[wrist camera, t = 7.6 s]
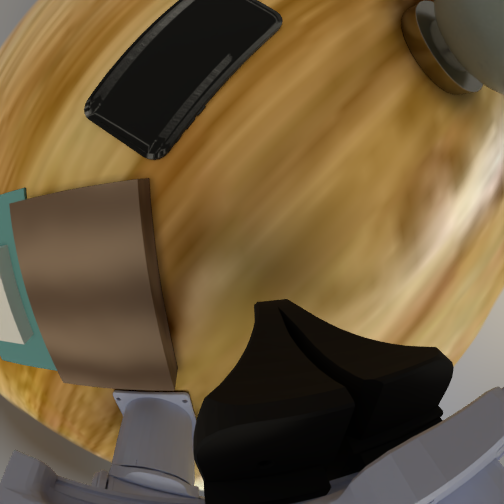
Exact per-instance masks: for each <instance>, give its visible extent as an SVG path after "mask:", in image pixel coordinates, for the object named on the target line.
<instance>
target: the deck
mask: <svg viewBox="0 0 504 504" xmlns="http://www.w3.org/2000/svg"><path fill="white" fill-rule="evenodd" d="M9 207H10V216H11V223H12V230H13V236H14V241H15V247H16V252H17V256H18V261H19V265H20V270H21V274H22V277H23V281H24V285H25V288H26V292H27V295H28V298H29V302H30V305H31V308H32V311H33V314H34V316H35V319H36V322H37V325H38V327H39V330H40V333H41V335H42V338H43V340H44V342H45V345H46V347H47V350H48V352H49V354H50V356H51V358H52V361H53V363H54V365H55V367H56V369H57V371H58V373H59V375H60V377H61V379H62V381H63V383H69V384H76V385H83V386H92V387H101V388H113V389H128V390H154V391H175V384H176V376H177V369H178V367H177V363H176V359H175V355H174V350H173V346H172V341H171V337H170V332H169V327H168V322H167V317H166V312H165V306H164V301H163V295H162V289H161V283H160V276H159V270H158V263H157V256H156V248H155V240H154V231H153V221H152V211H151V199H150V184H149V178H145V179H135V180H127V181H120V182H113V183H106V184H100V185H94V186H88V187H82V188H77V189H72V190H66V191H61V192H57V193H52V194H47V195H43V196H38V197H34V198H30V199H26V200H22V201H18V202H14V203H10V204H9Z"/></svg>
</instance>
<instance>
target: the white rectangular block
mask: <svg viewBox="0 0 504 504" xmlns="http://www.w3.org/2000/svg"><path fill="white" fill-rule="evenodd" d="M32 335H33V331H32V329H31V326H30V323H29V321H28V318H27V315H26V312H25V309H24V306H23V303H22V300H21V297H20V294H19V290H18V287H17V283H16V280H15V276H14V272H13V268H12V264H11V259H10V255H9V250H8V245H4V246H0V341H6V342H12V343H18V344H25V343H26V342H27V341H28V340H29V339H30V337H31V336H32Z"/></svg>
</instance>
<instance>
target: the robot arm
mask: <svg viewBox="0 0 504 504" xmlns="http://www.w3.org/2000/svg"><path fill="white" fill-rule="evenodd" d="M254 312H255V323H254V328H253V331H252V334H251V337H250V340H249V342H248V345H247V347H246V349H245V351H244V353H243V355H242V356H241V358H240V360H239V361H238V363H237V364H236V366H235V367H234V369H233V370H232V371H231V372H230V373H229V375H228V376H227V377H226V378H225V379H224V381H223V382H222V383H221V384H220V385H219V386H218V387H217V388H215V389H214V390H213V391H212V392H211V393H210V394H209V395H208V396H207V397H205V398H204V401H203V403H202V406H201V409H200V411H199V414H198V418H197V421H196V417H195V414H194V410H193V407H192V403H191V400H190V396H189V394H188V393H186V392H136V391H119V390H115V391H114V392H113V396H114V398H115V401H116V403H117V405H118V407H119V408H120V410H121V412H122V414H123V419H122V423H121V427H120V431H119V435H118V439H117V443H116V447H115V452H114V456H113V460H112V465H111V468H110V471H109V473H108V472H107V471H105V470H100V472H99V471H98V472H96V473H94V476H93V480H92V485H87V484H83V483H80V482H76V481H73V480H70V479H67V478H64V477H61V476H58V475H56V473H55V472H54V471H53V470H52V469H51V468H50V467H49V466H48V465H46V464H45V463H44V462H42V461H40V460H38V459H36V458H34V457H31V456H29V455H26V454H24V453H22V452H20V451H17V450H14V451H13V453H12V456H11V458H10V460H9V463H8V465H7V467H6V470H5V472H4V475H3V477H2V480H1V483H0V504H504V467H503V466H502V465H501V463H500V462H499V461H498V460H499V459H500V458H501V457H502V456H503V455H504V387H503V388H502V389H501V388H500V387H495V388H493V389H491V390H489V391H487V392H485V393H484V394H482V395H481V396H480V397H478V398H477V399H475V400H474V401H473V402H471V403H470V404H468V405H467V406H465V407H464V408H462V409H461V410H459V411H458V412H456V413H455V414H453V415H452V416H450V417H448V418H447V419H445V420H442V419H441V418H440V417H441V416H442V415H443V411H442V409H441V408H440V407H439V406H438V405H439V403H440V401H441V399H442V397H443V395H444V394H445V392H446V390H447V388H448V386H449V383H450V381H451V378H452V374H453V364H452V362H451V361H450V360H449V359H448V358H447V357H446V356H445V355H444V354H443V353H442V352H441V351H440V350H439V349H437V348H436V347H417V346H404V345H397V344H390V343H385V342H380V341H376V340H372V339H368V338H364V337H361V336H358V335H355V334H352V333H350V332H347V331H344V330H342V329H340V328H337V327H335V326H333V325H331V324H329V323H327V322H325V321H323V320H321V319H319V318H318V317H316V316H314V315H312V314H311V313H309V312H307V311H306V310H304V309H303V308H301V307H299V306H298V305H296V304H294V303H293V302H291V301H289V300H287V299H283V300H274V301H264V302H257V303H256V304H255V305H254ZM194 460H195V462H196V465H197V467H198V469H199V471H200V474H201V476H202V478H203V480H204V495H205V497H202V496H199V487H197V486H194V483H195V473H194ZM107 473H108V475H107Z"/></svg>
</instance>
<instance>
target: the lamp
mask: <svg viewBox="0 0 504 504" xmlns="http://www.w3.org/2000/svg"><path fill="white" fill-rule="evenodd" d="M401 25H402V31H403V35H404V38H405V41H406V43H407V45H408V47H409V49H410V51H411V53H412V55H413V57H414V58H415V60H416V61H417V63H418V64H419V66H420V67H421V68H422V70H423V71H424V72H425V73H426V75H427V76H428V77H429V78H430V79H431V80H432V81H433V82H434V83H435V84H436V85H437V86H439V87H440V88H441V89H443V90H444V91H446V92H448V93H450V94H454V95H460V94H466V93H473V92H477V91H479V90H480V89H481V88H482V86H483V85H485V86H487V87H488V88H490V89H492V90H494V91H496V92H498V93H500V94H503V95H504V0H434V2H431V1H421V2H419V3H417V4H416V5H414V6H413V7H411V8H409V9H408V10H406V11H405V12H404V13H403V15H402V19H401Z"/></svg>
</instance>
